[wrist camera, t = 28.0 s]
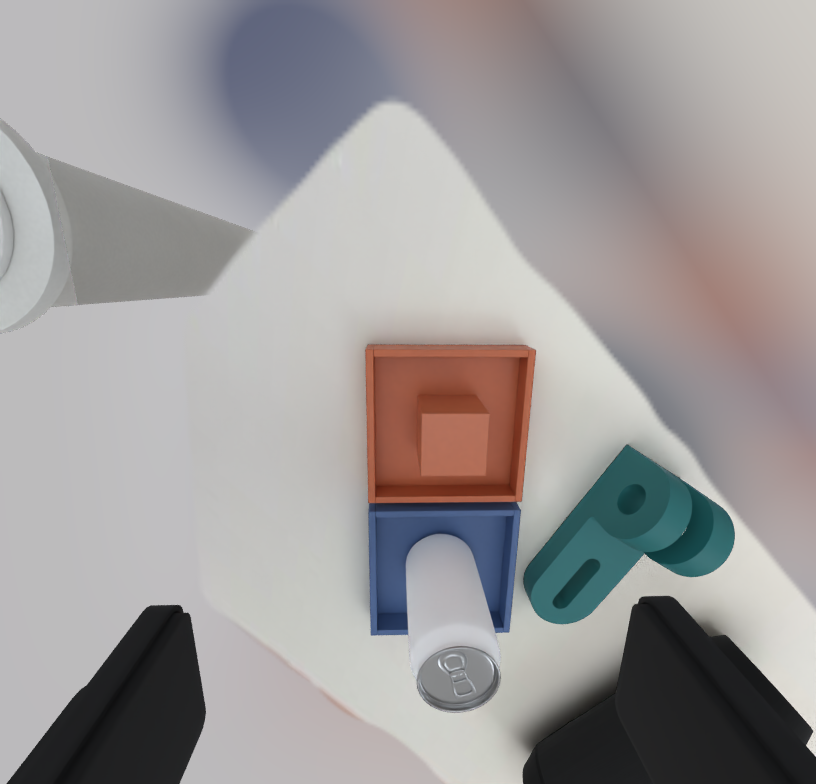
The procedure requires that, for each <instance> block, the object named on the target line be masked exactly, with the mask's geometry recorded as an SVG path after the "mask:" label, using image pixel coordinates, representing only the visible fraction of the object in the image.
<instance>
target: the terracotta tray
mask: <svg viewBox="0 0 816 784" xmlns="http://www.w3.org/2000/svg"><path fill="white" fill-rule="evenodd" d="M365 351H366V405H367V458H368V503H434V502H521V501H522V492H523V482H524V471H525V461H526V450H527V440H528V429H529V418H530V408H531V397H532V387H533V376H534V366H535V355H536V350H534V349H532V348H530V347H528V346H526V345H367V348H366V350H365ZM418 395H477V397H478V398H479V399H480V401H481V402H482V404H483V405H484V406H485V408H486V409H487V410H488V412H489V413H490V422H489V437H488V452H487V467H486V476H420V469H419V462H418V454H417V408H418Z"/></svg>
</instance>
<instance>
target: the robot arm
mask: <svg viewBox="0 0 816 784" xmlns="http://www.w3.org/2000/svg"><path fill="white" fill-rule="evenodd" d="M12 251H13V226H12V220H11V215H10V212H9V209H8V206H7V204H6V201H5V198H4V196H3V194H2V193H1V191H0V279H1V278H2V277H3V275H4V274H5V272H6V270H7V268H8V266H9V263H10V261H11V256H12ZM615 706H616V711H617V714H618V717H619V719H620V721H621V723H622V725H623V727H624V729H625V731H626V733H627V735H628V737H629V739H630V741H631V742H632V744H633V746H634V748H635V750H636V752H637V754H638V756H639V758H640V760H641V762H642V764H643V766H644V768H645V770H646V772H647V773H648V775H649V777H650V779H651V781H652V783H653V784H816V757H815V756H814V754H813V753H812V752H811V751H810V750H809V749H808V748H807V746H806V745H805V744H804V743H803V742H802V741H801V740H800V739H799V737H798V736H797V735H796V734H795V733H794V732H793V731H792V730H791V728H790V727H789V726H788V725H787V724H786V723H785V722H784V721H783V719H782V718H781V717H780V716H779V715H778V714H777V713H776V712H775V710H774V709H773V708H772V707H771V706H770V705H769V704H768V703H767V701H766V700H765V699H764V698H763V697H762V696H761V695H760V694H759V692H758V691H757V690H756V689H755V688H754V687H753V686H752V685H751V683H750V682H749V681H748V680H747V679H746V678H745V677H744V676H743V674H742V673H741V672H740V671H739V670H738V669H737V668H736V666H735V665H734V664H733V663H732V662H731V661H730V660H729V659H728V657H727V656H726V655H725V654H724V653H723V652H722V651H721V650H720V648H719V647H718V646H717V645H716V644H715V643H714V642H713V641H712V639H711V638H710V637H709V636H708V635H707V634H706V633H705V632H704V630H703V629H702V628H701V627H700V626H699V625H698V624H697V623H696V621H695V620H694V619H693V618H692V617H691V616H690V615H689V614H688V612H687V611H686V610H685V609H684V608H683V607H682V606H681V605H680V603H679V602H678V601H677V600H676V599H674V598H673V597H671V596H645V597H641V598H640V599H639V602H638V604H635V605H634V606H633V607H632V611H631V616H630V621H629V627H628V632H627V637H626V642H625V648H624V653H623V658H622V663H621V669H620V674H619V679H618V684H617V689H616V695H615ZM205 714H206V708H205V702H204V696H203V691H202V683H201V677H200V671H199V665H198V659H197V653H196V647H195V641H194V635H193V629H192V623H191V617H190V614H189V613H183V609H182V607H181V606H180V605H158V606H149V607H147V608H146V609H145V610H144V611H143V612H142V613H141V615H140V616H139V617H138V619H137V620H136V621H135V623H134V624H133V625H132V627H131V628H130V629H129V630H128V632H127V633H126V635H125V636H124V637H123V638H122V640H121V641H120V643H119V644H118V645H117V646H116V648H115V649H114V650H113V652H112V653H111V654H110V655H109V657H108V658H107V660H106V661H105V662H104V663H103V665H102V666H101V667H100V669H99V670H98V671H97V673H96V674H95V675H94V677H93V678H92V679H91V680H90V682H89V683H88V684H87V686H85V687H84V688H82V689H81V690H80V691H79V692H78V693H77V694H76V695H75V696H74V697H73V698H72V700H71V701H70V702H69V703H68V705H67V706H66V707H65V709H64V710H63V711H62V713H61V714H60V715H59V716H58V718H57V719H56V721H55V722H54V723H53V724H52V726H51V727H50V728H49V730H48V731H47V732H46V733H45V735H44V736H43V737H42V739H41V740H40V741H39V742H38V744H37V745H36V746H35V748H34V749H33V750H32V752H31V753H30V754H29V755H28V757H27V758H26V760H25V761H24V762H23V763H22V764H21V766H20V767H19V768H18V770H17V771H16V772H15V774H14V775H13V776H12V777H11V779H10V780H9V781H8V783H7V784H179V783H180V781H181V779H182V776H183V774H184V771H185V769H186V767H187V765H188V762H189V760H190V758H191V755H192V753H193V750H194V748H195V746H196V743H197V741H198V739H199V737H200V734H201V731H202V729H203V725H204V721H205Z"/></svg>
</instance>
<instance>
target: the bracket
mask: <svg viewBox="0 0 816 784" xmlns="http://www.w3.org/2000/svg"><path fill="white" fill-rule="evenodd" d="M685 529H686V531H685ZM684 531H685V532H684ZM683 532H684V533H683ZM682 534H683V535H682ZM734 539H735V531H734V526H733V523H732V520H731V518H730V516H729V515H728V513H727V512H726V511H725V510H724V509H723V508H722V507H720V506H719V505H718V504H716V503H715V502H713V501H712V500H710V499H709V498H708V497H706V496H705V495H703V494H702V493H700V492H699V491H697V490H696V489H695V488H693V487H692V486H690V485H689V484H687V483H686V482H684V481H683V480H681V479H680V478H678V477H677V476H675V475H674V474H672V473H671V472H669V471H667V470H666V469H664V468H663V467H661V466H660V465H658V464H657V463H655V462H654V461H652V460H650V459H649V458H647V457H646V456H644V455H643V454H641V453H640V452H638V451H636V450H635V449H633V448H632V447H630V446H629V445H626V446H625V448H624V449H623V450H622V451H621V452H620V454H619V455H618V456H617V457H616V459H615V460H614V461H613V462H612V463H611V465H610V466H609V467H608V468H607V470H606V471H605V472H604V473H603V474H602V476H601V477H600V478H599V479H598V481H597V482H596V483H595V484H594V486H593V487H592V488H591V489H590V490H589V492H588V493H587V494H586V495H585V497H584V498H583V499H582V500H581V501H580V503H579V504H578V505H577V506H576V508H575V509H574V510H573V511H572V513H571V514H570V515H569V516H568V517H567V519H566V520H565V521H564V522H563V524H562V525H561V526H560V527H559V528H558V530H557V531H556V532H555V533H554V535H553V536H552V537H551V538H550V540H549V541H548V542H547V543H546V544H545V546H544V547H543V548H542V549H541V551H540V552H539V553H538V554H537V555H536V557H535V558H534V559H533V560H532V562H531V563H530V564H529V566H528V567H527V569H526V571H525V574H524V588H525V590H526V593H527V595H528V597H529V600H530V602H531V604H532V607H533V609H534V611H535V612H536V613H537V615H538V616H540V617H541V618H542V619H544V620H546V621H548V622H551V623H555V624H569V623H574V622H577V621H579V620H581V619H583V618H585V617H587V616H588V615H589V614H591V613H592V612H593V611H594V610H595V609H596V607H597V606H598V605H599V604H600V603H601V602H602V601H603V600H604V598H605V597H606V596H607V595H608V594H609V593H610V592H611V591H612V589H613V588H614V587H615V586H616V585H617V584H618V583H619V582H620V580H621V579H622V578H623V577H624V576H625V575H626V574H627V573H628V571H629V570H630V569H631V568H632V567H633V566H634V565H635V564H636V562H637V561H638V560H639V559H640V558H641V557H642V556H643V555H644V553H645V554H646V555H647V556H648V557H649V558H650V559H652V560H653V561H655V562H657V563H659V564H660V565H662V566H664V567H665V568H667V569H669V570H670V571H672V572H674V573H676V574H678V575H682V576H686V577H698V576H703V575H706V574H709V573H711V572H713V571H714V570H716V569H717V568H719V567H720V566H721V565H722V564H723V563H724V562H725V561H726V559H727V558H728V556H729V555H730V553H731V551H732V548H733V545H734Z"/></svg>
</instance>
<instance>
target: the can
mask: <svg viewBox="0 0 816 784" xmlns="http://www.w3.org/2000/svg"><path fill="white" fill-rule="evenodd" d="M406 589H407V615H408V639H409V657H410V666H411V670H412V673H413V675H414V677H415V679H416V681H417V688H418V691H419V694H420V695H421V697H422V698H423V700H424V701H425V702H426V703H428V704H429V705H430V706H432V707H434V708H436V709H438V710H441V711H445V712H452V713H460V712H467V711H471V710H474V709H476V708H479V707H481V706H482V705H484V704H485V703H487V702H488V701H489V700H490V699H491V698H492V697H493V696H494V695H495V693H496V692H497V690H498V688H499V685H500V679H501V676H500V670H499V666H500V648H499V644H498V640H497V637H496V633H495V629H494V626H493V622H492V619H491V615H490V612H489V608H488V605H487V601H486V598H485V594H484V591H483V587H482V584H481V580H480V577H479V574H478V570H477V567H476V563H475V560H474V557H473V554H472V552H471V550H470V548H469V546H468V545H467V544H466V543H465V542H464V541H462V540H461V539H459V538H457V537H455V536H452V535H448V534H434V535H430V536H428V537H425V538H423V539H422V540H420V541H418V542H417V543H416V544H415V545H414V546H413V547H412V548H411V550H410V551H409V553H408V555H407V559H406Z"/></svg>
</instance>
